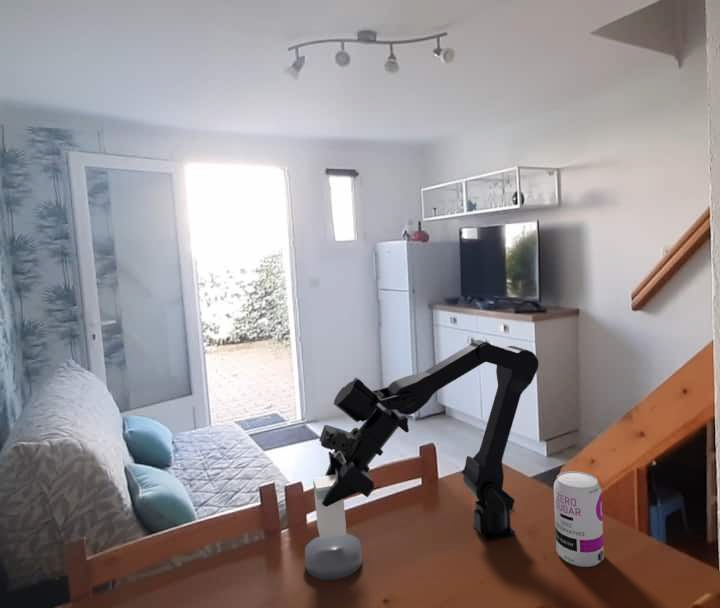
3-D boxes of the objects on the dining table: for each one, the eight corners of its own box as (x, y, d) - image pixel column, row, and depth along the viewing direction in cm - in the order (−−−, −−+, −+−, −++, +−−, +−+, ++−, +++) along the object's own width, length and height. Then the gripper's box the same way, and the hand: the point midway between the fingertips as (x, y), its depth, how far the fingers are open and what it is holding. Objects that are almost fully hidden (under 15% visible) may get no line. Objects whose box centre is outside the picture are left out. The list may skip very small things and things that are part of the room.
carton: (342, 521, 103) (338, 473, 102) (346, 534, 98) (342, 484, 97) (317, 526, 102) (313, 477, 101) (320, 539, 97) (316, 488, 96)
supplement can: (603, 547, 98) (600, 472, 97) (604, 572, 91) (601, 491, 90) (558, 540, 102) (555, 468, 100) (555, 564, 94) (551, 486, 93)
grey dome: (353, 542, 107) (352, 528, 106) (369, 571, 96) (367, 556, 96) (301, 553, 104) (300, 539, 103) (311, 585, 93) (310, 570, 93)
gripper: (334, 399, 108) (286, 457, 106) (351, 425, 90) (293, 496, 88) (373, 430, 110) (326, 487, 109) (397, 461, 92) (342, 531, 90)
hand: (321, 498), depth 99 cm, fingers closed on carton, 5 cm apart
